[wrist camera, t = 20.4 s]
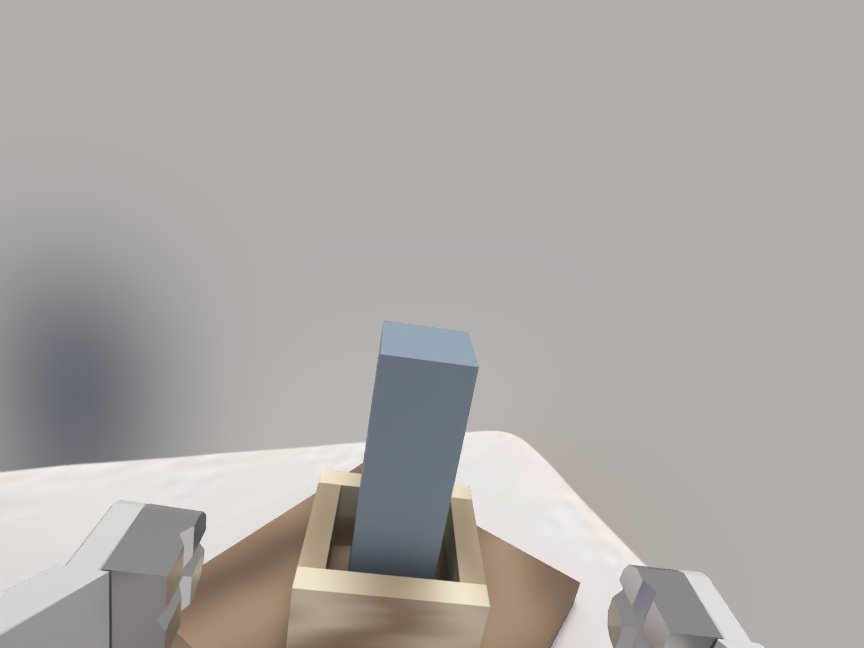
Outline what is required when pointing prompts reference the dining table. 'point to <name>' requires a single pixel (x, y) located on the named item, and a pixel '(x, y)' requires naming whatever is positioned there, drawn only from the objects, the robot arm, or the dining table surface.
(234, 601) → the socket board
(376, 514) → the slate peg
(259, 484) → the dining table surface
